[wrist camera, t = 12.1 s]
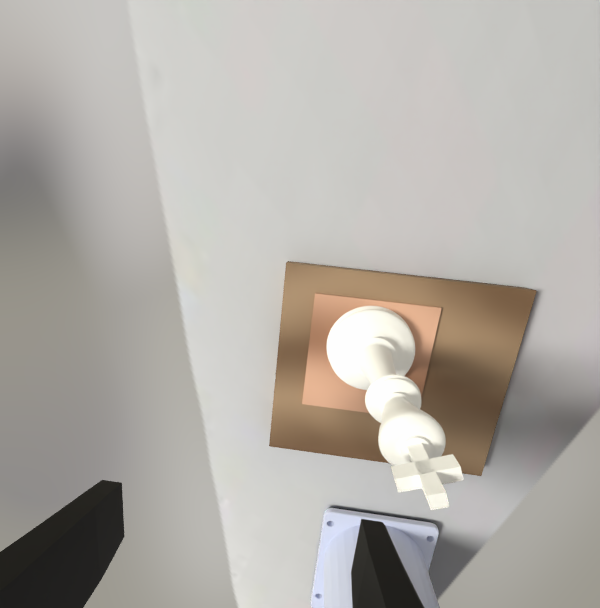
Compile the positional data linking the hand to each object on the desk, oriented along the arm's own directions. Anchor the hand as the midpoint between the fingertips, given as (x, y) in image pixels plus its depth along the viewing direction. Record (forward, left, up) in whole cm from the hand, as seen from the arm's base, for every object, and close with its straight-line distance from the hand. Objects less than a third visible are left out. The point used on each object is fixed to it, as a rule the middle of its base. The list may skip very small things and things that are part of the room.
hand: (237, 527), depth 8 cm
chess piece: (+3, -5, -9) cm, 11 cm away
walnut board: (+1, -7, -10) cm, 12 cm away
